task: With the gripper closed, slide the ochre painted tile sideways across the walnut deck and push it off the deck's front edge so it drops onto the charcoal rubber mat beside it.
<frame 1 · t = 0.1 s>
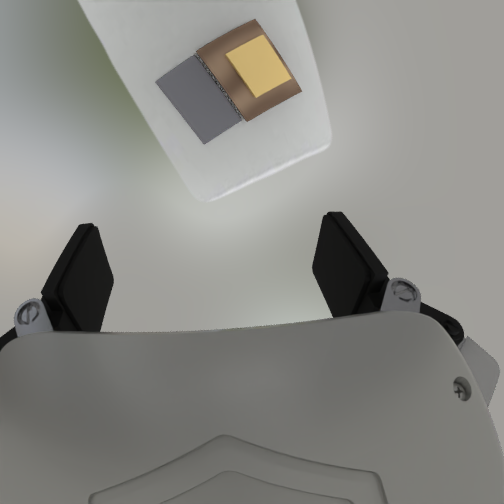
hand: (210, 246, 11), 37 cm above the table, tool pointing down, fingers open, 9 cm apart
walnut deck: (247, 69, 36), on the table
charcoal mat: (198, 99, 38), on the table
ochre tile: (256, 66, 33), point 4 cm above the table, touching walnut deck
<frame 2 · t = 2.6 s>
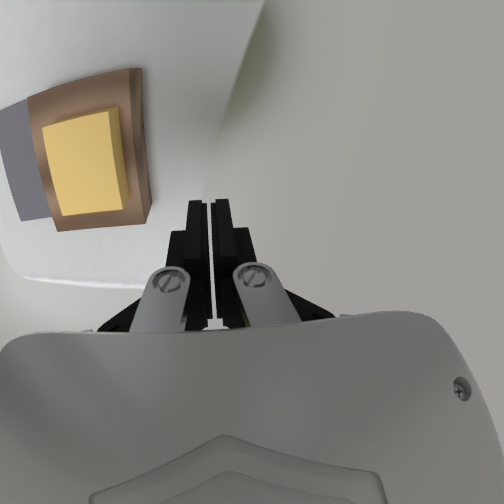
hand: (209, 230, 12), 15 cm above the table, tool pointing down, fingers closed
walnut deck: (97, 145, 22), on the table
charcoal mat: (28, 161, 20), on the table
ochre tile: (91, 157, 19), point 4 cm above the table, touching walnut deck
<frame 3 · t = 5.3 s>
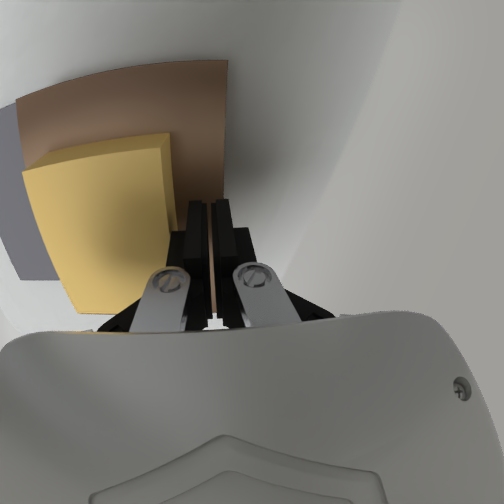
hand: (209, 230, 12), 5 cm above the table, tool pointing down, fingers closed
walnut deck: (137, 185, 15), on the table
charcoal mat: (24, 200, 14), on the table
ochre tile: (117, 220, 12), point 4 cm above the table, touching gripper
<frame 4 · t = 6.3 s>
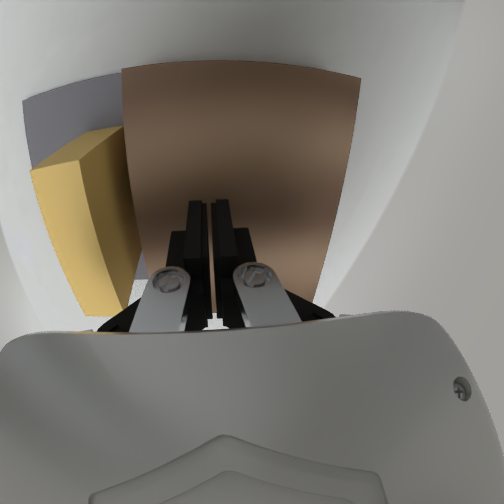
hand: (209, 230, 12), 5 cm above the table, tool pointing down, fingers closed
walnut deck: (232, 181, 16), on the table
charcoal mat: (88, 191, 15), on the table
ochre tile: (119, 216, 12), point 4 cm above the table, tilted 90°, touching charcoal mat
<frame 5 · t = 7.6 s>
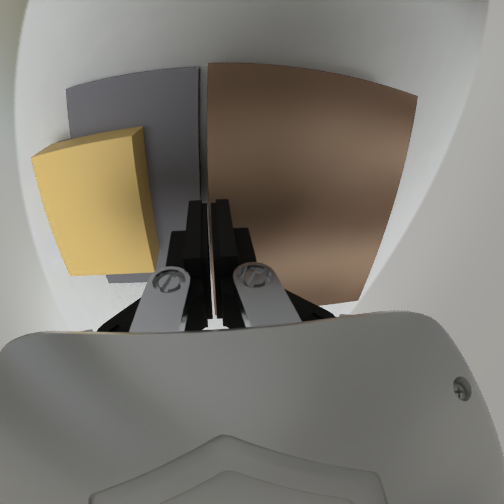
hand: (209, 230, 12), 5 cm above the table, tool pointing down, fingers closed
walnut deck: (290, 182, 16), on the table
charcoal mat: (139, 188, 15), on the table
ochre tile: (91, 217, 13), point 3 cm above the table, tilted 180°, touching charcoal mat
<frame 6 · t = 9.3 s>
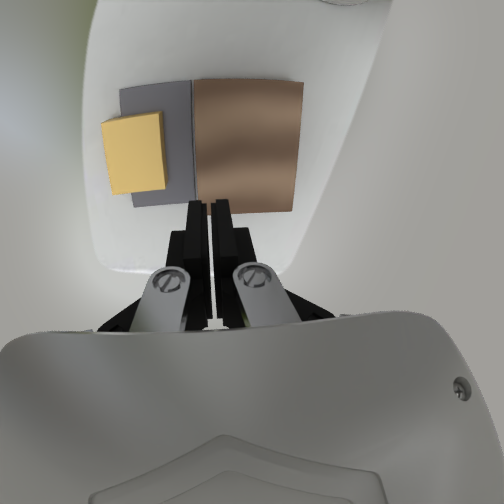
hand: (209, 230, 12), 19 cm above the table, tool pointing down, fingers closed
walnut deck: (243, 140, 28), on the table
charcoal mat: (158, 145, 27), on the table
ochre tile: (132, 156, 24), point 3 cm above the table, tilted 180°, touching charcoal mat
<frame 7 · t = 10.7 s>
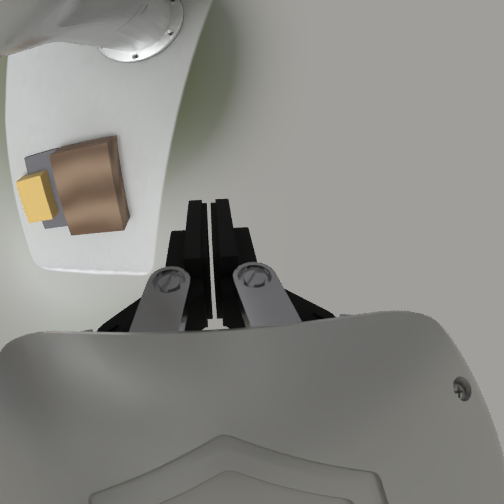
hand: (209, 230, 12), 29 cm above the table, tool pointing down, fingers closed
walnut deck: (94, 182, 37), on the table
charcoal mat: (50, 190, 36), on the table
ochre tile: (33, 200, 33), point 3 cm above the table, tilted 180°, touching charcoal mat
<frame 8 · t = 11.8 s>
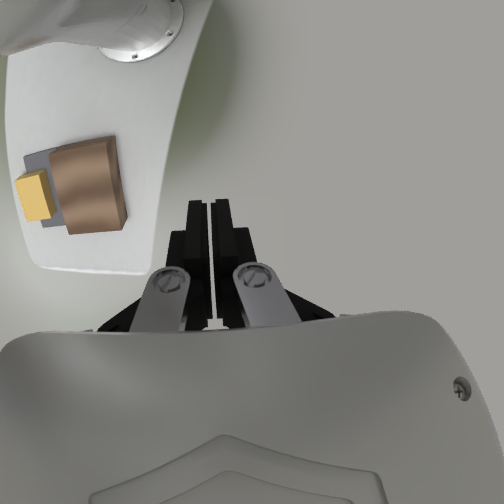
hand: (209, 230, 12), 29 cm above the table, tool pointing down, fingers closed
walnut deck: (92, 182, 37), on the table
charcoal mat: (48, 189, 35), on the table
ochre tile: (32, 199, 33), point 3 cm above the table, tilted 180°, touching charcoal mat
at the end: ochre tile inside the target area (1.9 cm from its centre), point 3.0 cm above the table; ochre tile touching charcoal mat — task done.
